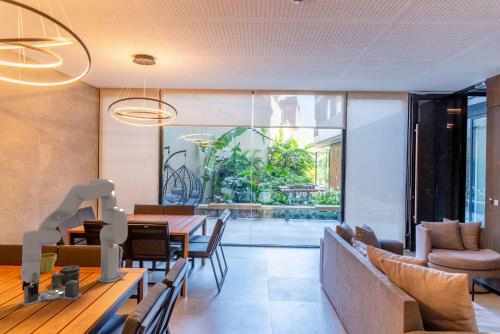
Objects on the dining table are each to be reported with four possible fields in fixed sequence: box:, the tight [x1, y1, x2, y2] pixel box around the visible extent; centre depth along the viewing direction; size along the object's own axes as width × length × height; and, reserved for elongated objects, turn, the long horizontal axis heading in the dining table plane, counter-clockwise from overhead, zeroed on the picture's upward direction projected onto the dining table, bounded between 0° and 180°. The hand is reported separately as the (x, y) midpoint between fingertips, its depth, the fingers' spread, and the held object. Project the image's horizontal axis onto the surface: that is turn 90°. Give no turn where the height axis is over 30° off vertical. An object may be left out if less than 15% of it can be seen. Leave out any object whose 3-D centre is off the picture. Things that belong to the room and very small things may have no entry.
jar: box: [59, 265, 81, 285], centre depth 183 cm, size 10×10×8 cm
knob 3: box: [64, 280, 80, 297], centre depth 161 cm, size 5×4×7 cm
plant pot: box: [39, 252, 58, 274], centre depth 199 cm, size 10×10×10 cm
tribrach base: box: [20, 284, 83, 307], centre depth 164 cm, size 26×22×3 cm
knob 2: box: [50, 271, 62, 289], centre depth 172 cm, size 5×4×7 cm
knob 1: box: [23, 284, 39, 302], centre depth 154 cm, size 5×4×7 cm
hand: (30, 292), depth 154 cm, fingers open, 9 cm apart
